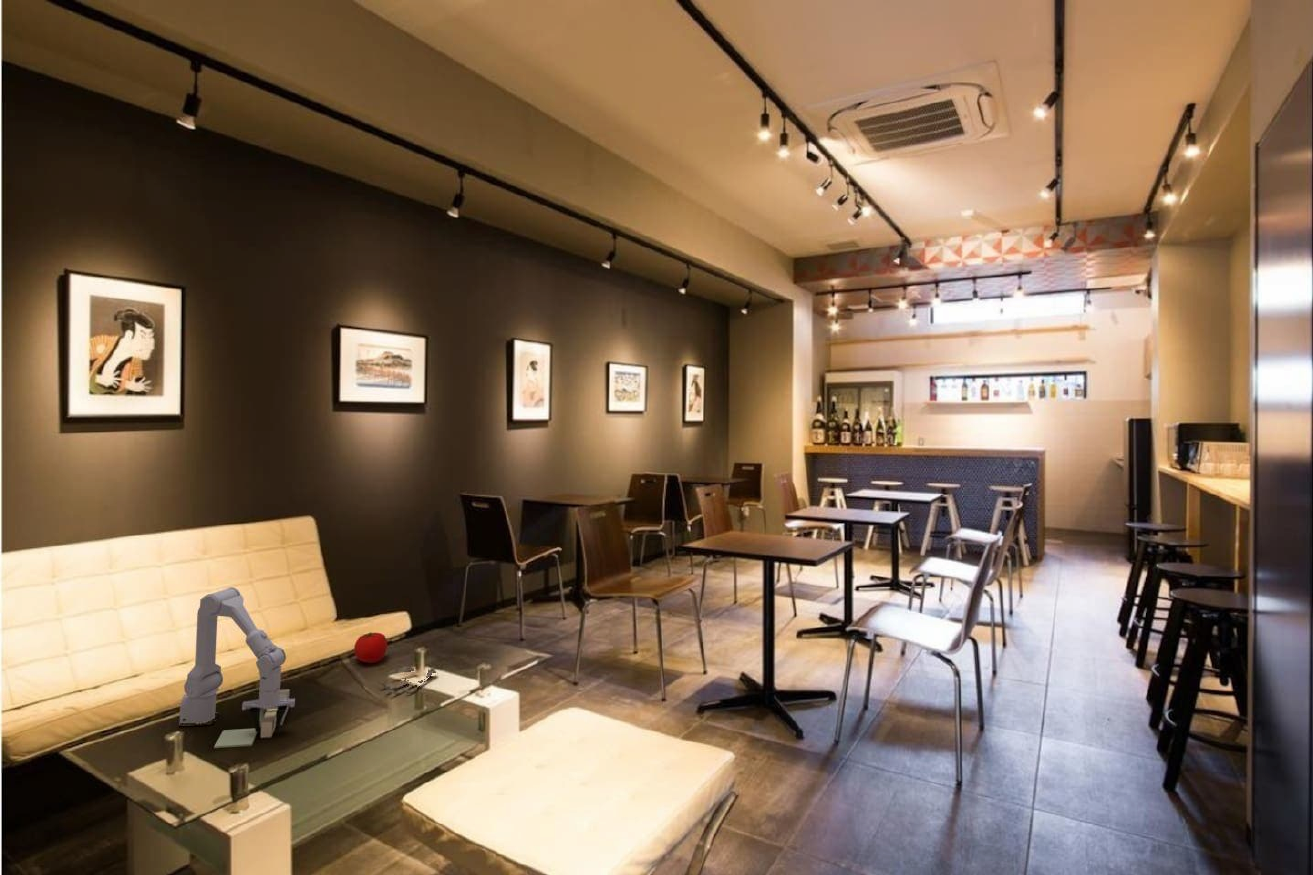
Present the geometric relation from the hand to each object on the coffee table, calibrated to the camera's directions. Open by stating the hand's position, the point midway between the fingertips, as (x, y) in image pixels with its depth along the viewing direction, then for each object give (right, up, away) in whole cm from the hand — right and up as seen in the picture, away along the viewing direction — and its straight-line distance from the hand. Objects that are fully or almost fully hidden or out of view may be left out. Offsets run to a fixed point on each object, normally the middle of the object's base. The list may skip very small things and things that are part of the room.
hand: (267, 729), depth 223 cm
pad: (-7, -1, -4) cm, 8 cm away
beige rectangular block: (-1, -1, +3) cm, 3 cm away
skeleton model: (+29, -2, +44) cm, 52 cm away
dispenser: (-4, 0, +11) cm, 11 cm away
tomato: (+7, +1, +63) cm, 63 cm away
